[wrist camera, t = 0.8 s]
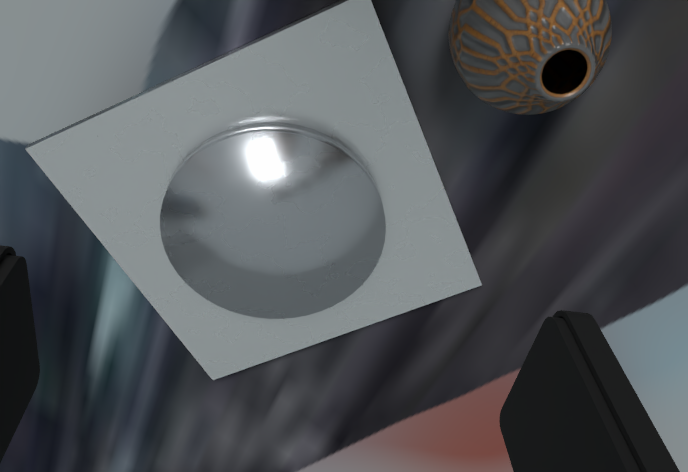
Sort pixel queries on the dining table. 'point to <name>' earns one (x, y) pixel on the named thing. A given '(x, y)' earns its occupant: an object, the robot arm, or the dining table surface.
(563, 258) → the dining table surface
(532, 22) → the vase
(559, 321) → the robot arm
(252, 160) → the flange plate
